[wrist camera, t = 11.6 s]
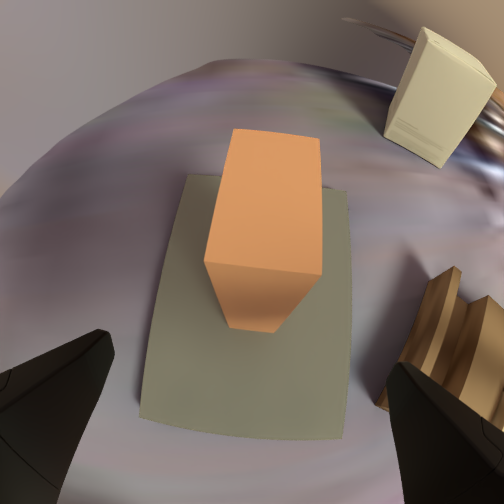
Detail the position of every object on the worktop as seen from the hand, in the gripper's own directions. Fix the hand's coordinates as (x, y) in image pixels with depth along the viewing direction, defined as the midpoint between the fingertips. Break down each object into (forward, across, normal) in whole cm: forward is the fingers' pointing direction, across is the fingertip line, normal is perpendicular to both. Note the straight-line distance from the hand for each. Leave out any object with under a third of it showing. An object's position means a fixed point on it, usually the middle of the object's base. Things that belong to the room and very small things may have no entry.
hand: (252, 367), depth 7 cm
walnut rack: (+8, -19, +9) cm, 22 cm away
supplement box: (+29, -19, -12) cm, 36 cm away
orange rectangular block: (+11, 0, +4) cm, 12 cm away
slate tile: (+12, 0, +5) cm, 13 cm away
